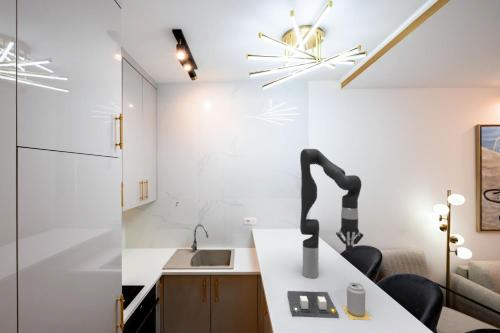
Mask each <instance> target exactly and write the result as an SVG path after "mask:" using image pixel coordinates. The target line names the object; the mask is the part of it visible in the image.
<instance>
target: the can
mask: <svg viewBox="0 0 500 333" xmlns="http://www.w3.org/2000/svg"><path fill="white" fill-rule="evenodd" d="M346 306H347V310H348V311H349V312H350V313H351V314H352V315H354V316H362V315H364V314H365V311H366V290H365V287H364V285H362V284H361V283H358V282H353V281H352V282H349V283H348V285H347V286H346Z"/></svg>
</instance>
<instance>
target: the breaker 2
mask: <svg viewBox="0 0 500 333" xmlns="http://www.w3.org/2000/svg"><path fill="white" fill-rule="evenodd" d="M318 307H319V309H322V310H327V302H326V300H325V297H318Z"/></svg>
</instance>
